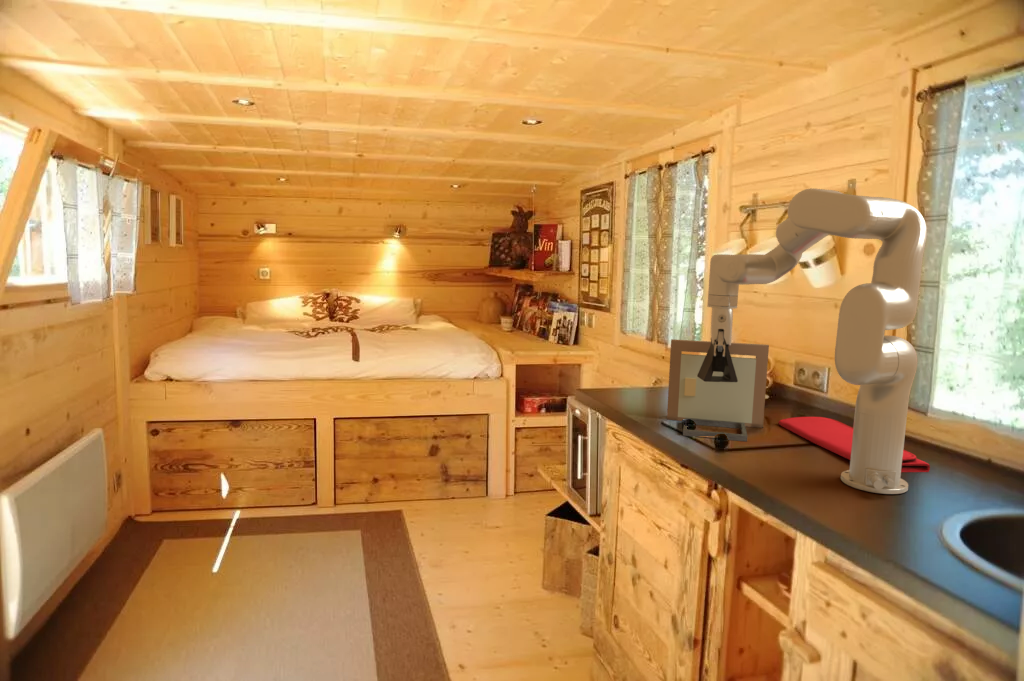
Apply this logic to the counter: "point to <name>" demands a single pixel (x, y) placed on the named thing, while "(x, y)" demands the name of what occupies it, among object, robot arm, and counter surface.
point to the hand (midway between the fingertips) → (717, 368)
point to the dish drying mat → (840, 439)
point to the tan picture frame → (717, 385)
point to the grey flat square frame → (719, 424)
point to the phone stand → (707, 372)
